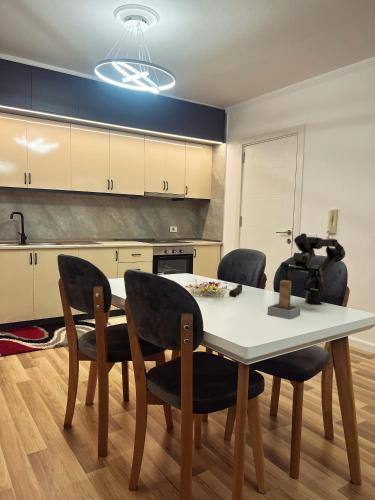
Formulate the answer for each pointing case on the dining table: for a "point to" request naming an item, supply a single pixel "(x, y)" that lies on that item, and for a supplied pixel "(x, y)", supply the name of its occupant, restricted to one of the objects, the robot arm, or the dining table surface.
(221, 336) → the dining table surface
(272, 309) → the tray
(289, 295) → the brown wooden block
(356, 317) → the dining table surface
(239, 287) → the hand tool
